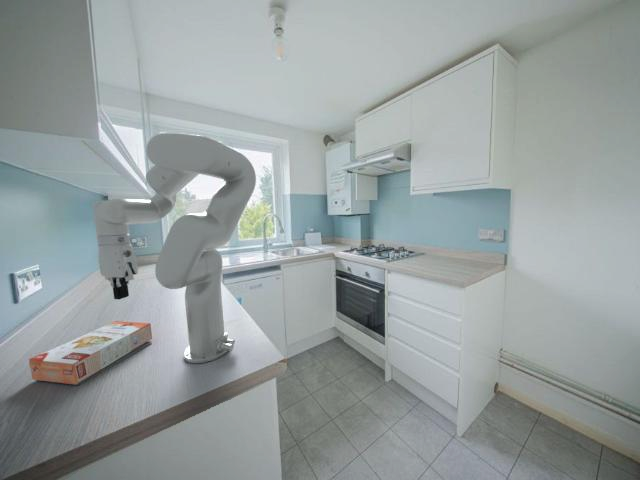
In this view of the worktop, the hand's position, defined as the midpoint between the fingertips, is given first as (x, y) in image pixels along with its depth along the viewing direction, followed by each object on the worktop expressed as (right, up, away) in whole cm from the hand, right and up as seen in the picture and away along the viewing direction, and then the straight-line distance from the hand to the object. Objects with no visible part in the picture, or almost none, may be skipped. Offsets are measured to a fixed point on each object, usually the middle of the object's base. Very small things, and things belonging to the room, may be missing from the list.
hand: (121, 297), depth 72 cm
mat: (-1, -16, -6) cm, 17 cm away
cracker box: (+1, -11, +3) cm, 12 cm away
